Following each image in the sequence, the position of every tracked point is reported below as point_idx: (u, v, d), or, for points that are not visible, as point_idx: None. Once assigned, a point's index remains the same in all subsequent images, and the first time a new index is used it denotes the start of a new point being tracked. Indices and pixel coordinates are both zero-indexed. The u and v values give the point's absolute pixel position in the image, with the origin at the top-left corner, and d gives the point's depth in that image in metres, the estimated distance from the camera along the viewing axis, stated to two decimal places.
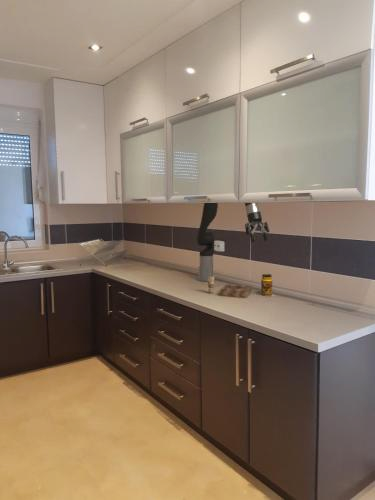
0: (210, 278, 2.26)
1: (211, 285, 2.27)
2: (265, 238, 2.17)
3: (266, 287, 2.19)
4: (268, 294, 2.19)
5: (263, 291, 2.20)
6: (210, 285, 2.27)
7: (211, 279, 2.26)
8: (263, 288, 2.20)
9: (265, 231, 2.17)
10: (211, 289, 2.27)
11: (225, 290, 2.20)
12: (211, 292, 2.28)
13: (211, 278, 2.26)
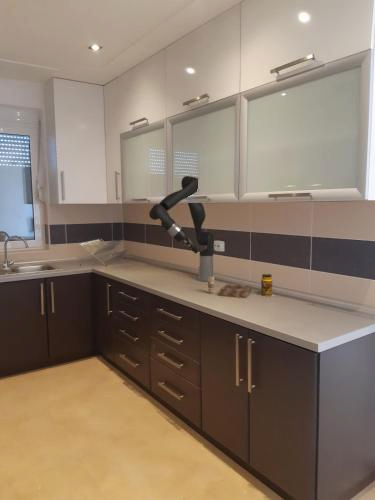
0: (210, 278, 2.26)
1: (211, 285, 2.27)
2: None
3: (266, 287, 2.19)
4: (268, 294, 2.19)
5: (263, 291, 2.20)
6: (210, 285, 2.27)
7: (211, 279, 2.26)
8: (263, 288, 2.20)
9: None
10: (211, 289, 2.27)
11: (225, 290, 2.20)
12: (211, 292, 2.28)
13: (211, 278, 2.26)
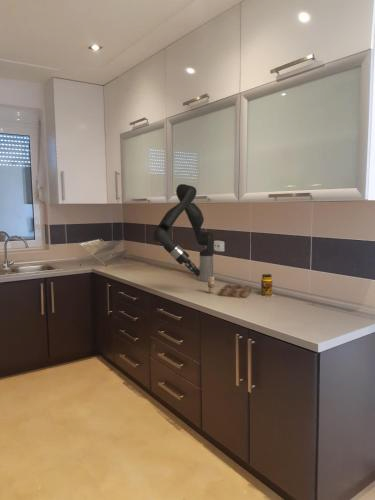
0: (210, 278, 2.26)
1: (211, 285, 2.27)
2: None
3: (266, 287, 2.19)
4: (268, 294, 2.19)
5: (263, 291, 2.20)
6: (210, 285, 2.27)
7: (211, 279, 2.26)
8: (263, 288, 2.20)
9: None
10: (211, 289, 2.27)
11: (225, 290, 2.20)
12: (211, 292, 2.28)
13: (211, 278, 2.26)
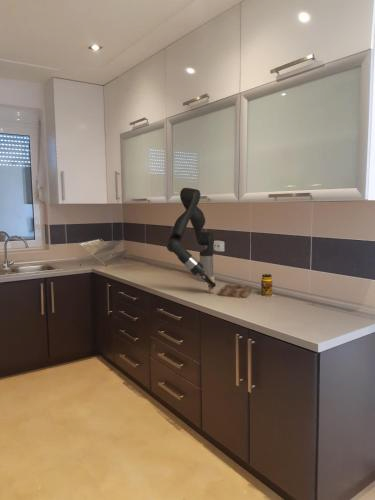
0: (210, 278, 2.26)
1: None
2: None
3: (266, 287, 2.19)
4: (268, 294, 2.19)
5: (263, 291, 2.20)
6: (210, 285, 2.27)
7: (211, 279, 2.26)
8: (263, 288, 2.20)
9: None
10: (211, 289, 2.27)
11: (225, 290, 2.20)
12: (211, 292, 2.28)
13: (211, 278, 2.26)
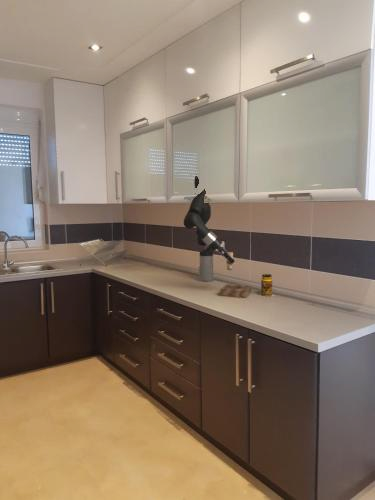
0: (229, 254, 2.22)
1: None
2: None
3: (266, 287, 2.19)
4: (268, 294, 2.19)
5: (263, 291, 2.20)
6: (229, 261, 2.22)
7: (230, 255, 2.22)
8: (263, 288, 2.20)
9: (226, 258, 2.22)
10: (230, 265, 2.23)
11: (225, 290, 2.20)
12: (230, 268, 2.23)
13: (230, 254, 2.22)
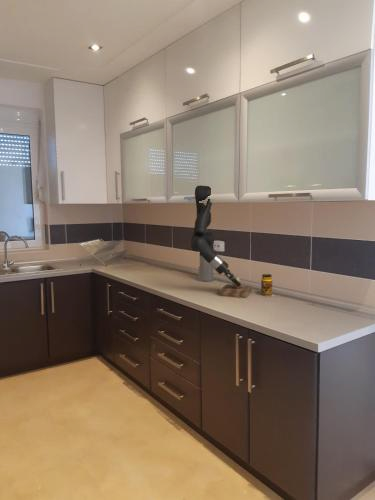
0: None
1: (236, 286, 2.23)
2: None
3: (266, 287, 2.19)
4: (268, 294, 2.19)
5: (263, 291, 2.20)
6: (235, 286, 2.23)
7: None
8: (263, 288, 2.20)
9: (232, 281, 2.21)
10: None
11: (225, 290, 2.20)
12: None
13: None
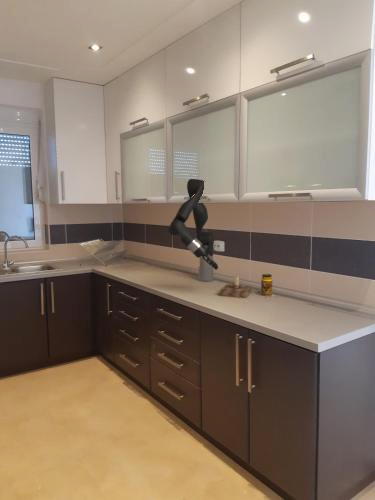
0: (235, 279, 2.23)
1: (236, 286, 2.23)
2: None
3: (266, 287, 2.19)
4: (268, 294, 2.19)
5: (263, 291, 2.20)
6: (235, 286, 2.23)
7: (236, 280, 2.23)
8: (263, 288, 2.20)
9: None
10: None
11: (225, 290, 2.20)
12: None
13: (236, 279, 2.23)
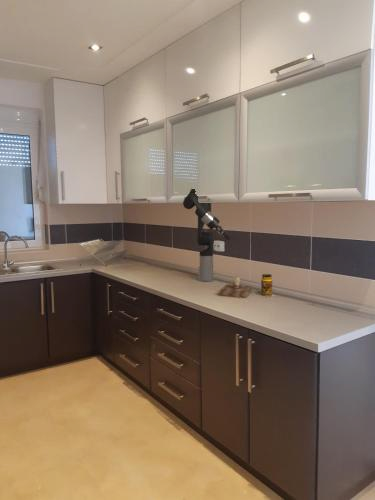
0: (235, 279, 2.23)
1: (236, 286, 2.23)
2: None
3: (266, 287, 2.19)
4: (268, 294, 2.19)
5: (263, 291, 2.20)
6: (235, 286, 2.23)
7: (236, 280, 2.23)
8: (263, 288, 2.20)
9: (222, 235, 2.34)
10: None
11: (225, 290, 2.20)
12: None
13: (236, 279, 2.23)
